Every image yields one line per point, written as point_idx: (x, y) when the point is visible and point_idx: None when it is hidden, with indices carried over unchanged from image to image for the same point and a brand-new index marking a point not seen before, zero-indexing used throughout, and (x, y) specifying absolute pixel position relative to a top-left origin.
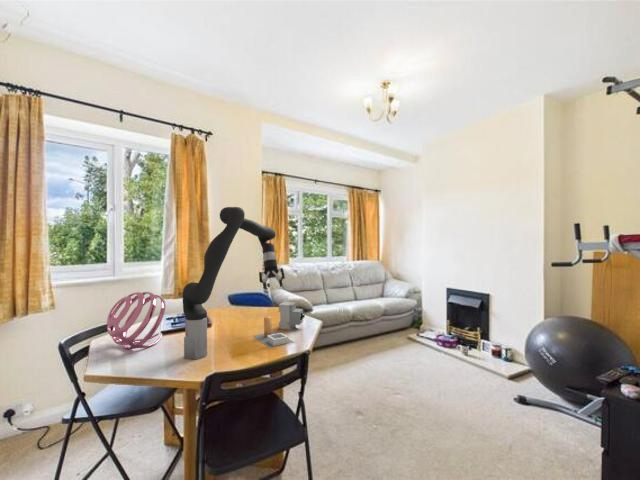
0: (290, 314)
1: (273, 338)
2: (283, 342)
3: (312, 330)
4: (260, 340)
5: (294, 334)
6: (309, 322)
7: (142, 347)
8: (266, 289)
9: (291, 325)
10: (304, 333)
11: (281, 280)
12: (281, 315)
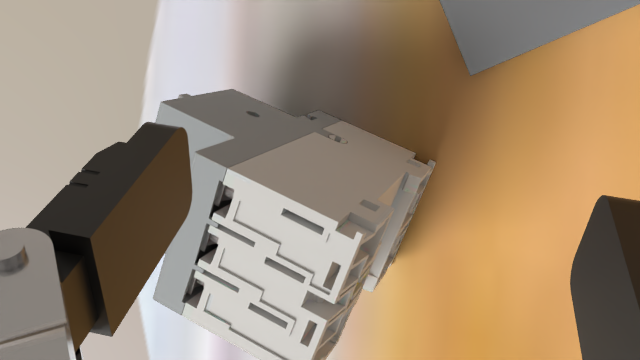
0: (269, 140)
1: None
2: None
3: (162, 91)
4: None
5: (305, 4)
6: (172, 317)
7: None
8: (583, 252)
9: (306, 119)
10: (225, 19)
11: (31, 226)
12: (373, 182)
